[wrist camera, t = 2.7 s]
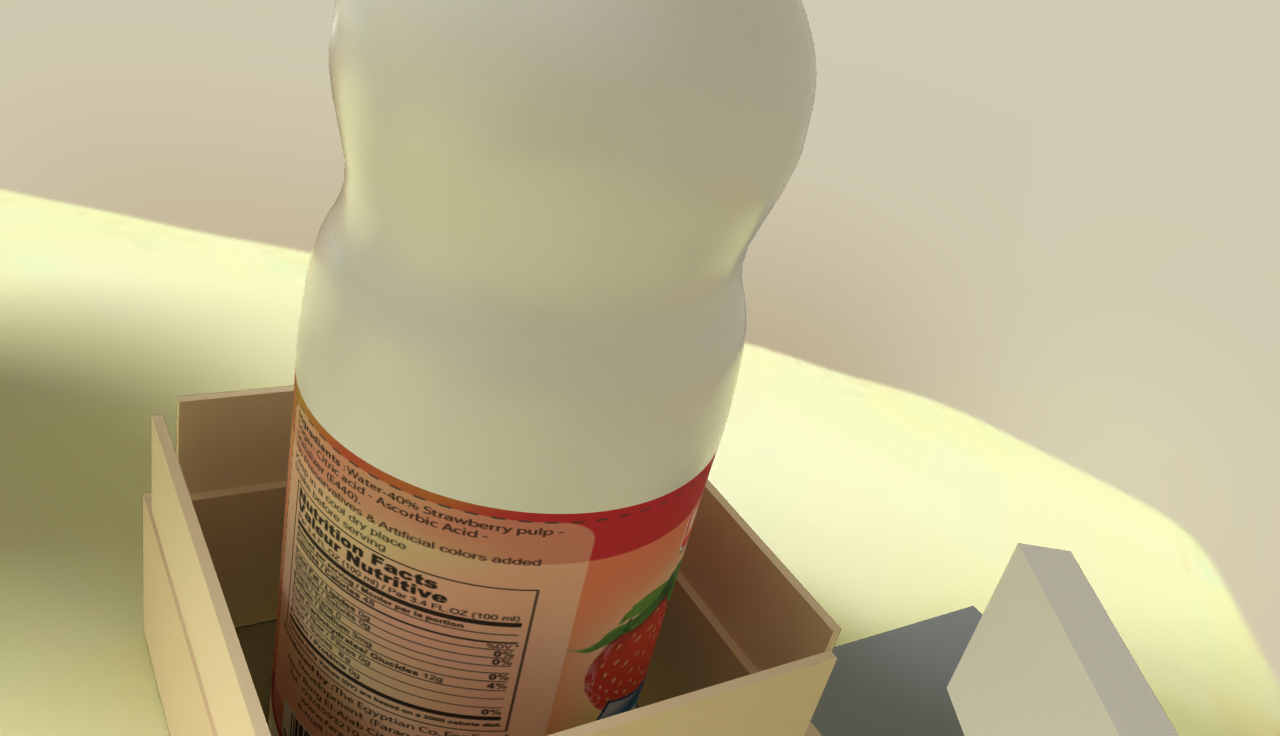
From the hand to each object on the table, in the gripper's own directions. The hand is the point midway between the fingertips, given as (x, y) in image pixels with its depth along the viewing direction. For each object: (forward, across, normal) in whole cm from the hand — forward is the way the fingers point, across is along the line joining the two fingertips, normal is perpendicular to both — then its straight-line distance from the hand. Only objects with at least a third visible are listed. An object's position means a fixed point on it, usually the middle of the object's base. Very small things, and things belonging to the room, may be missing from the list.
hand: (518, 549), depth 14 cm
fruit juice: (+10, 0, -16) cm, 18 cm away
